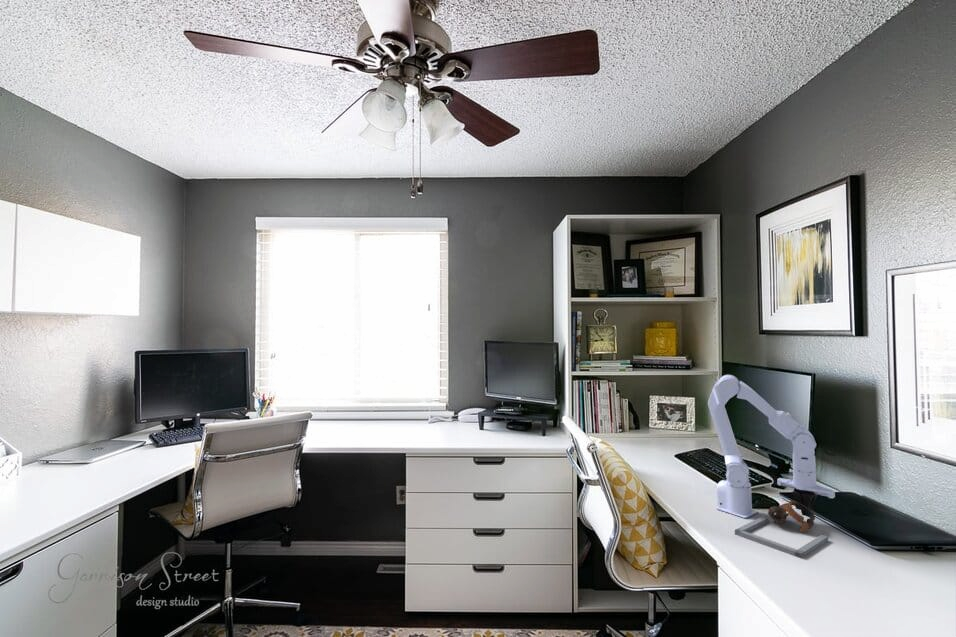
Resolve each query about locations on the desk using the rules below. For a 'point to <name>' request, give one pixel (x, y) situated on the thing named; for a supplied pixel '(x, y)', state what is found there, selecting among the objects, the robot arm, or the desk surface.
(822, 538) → the frame
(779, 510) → the orange curved piece
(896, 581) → the desk surface
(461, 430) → the desk surface
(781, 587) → the desk surface
